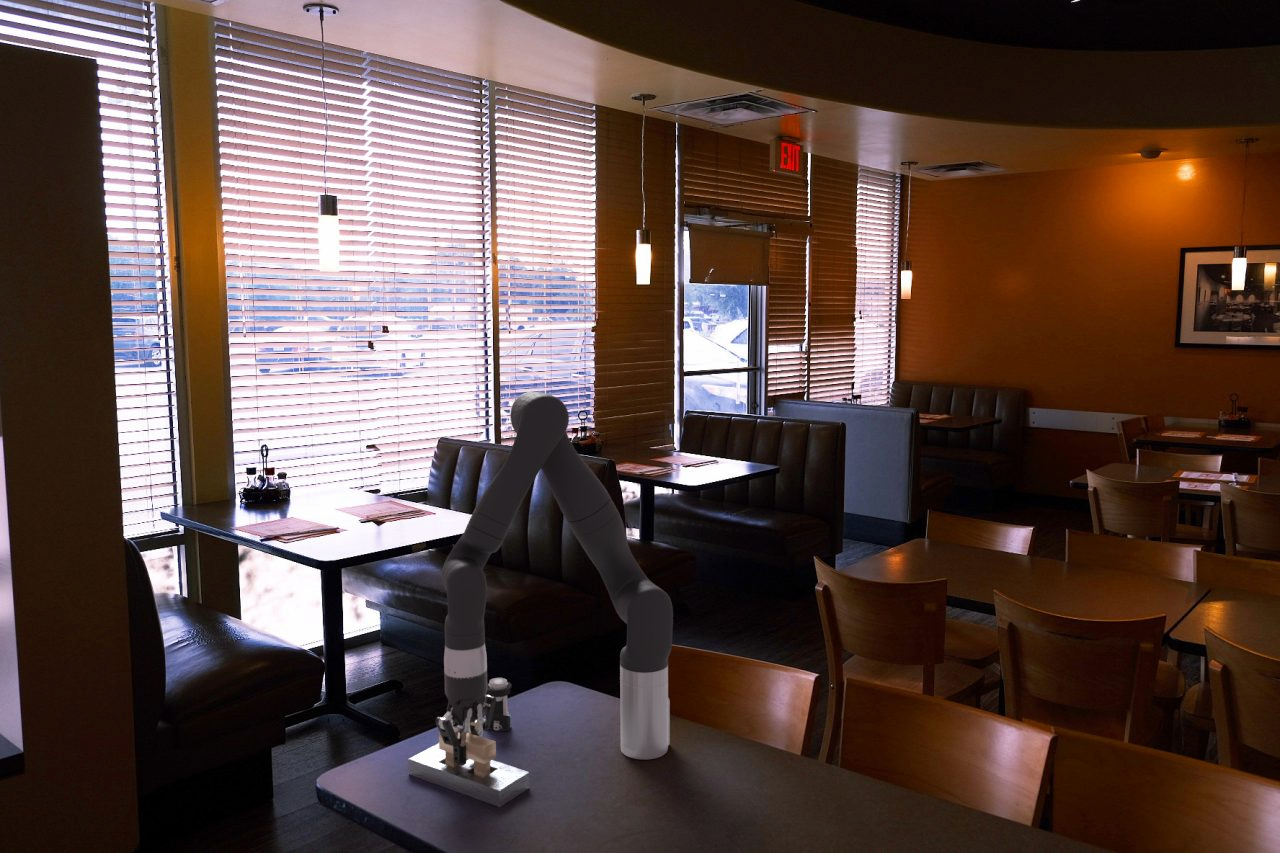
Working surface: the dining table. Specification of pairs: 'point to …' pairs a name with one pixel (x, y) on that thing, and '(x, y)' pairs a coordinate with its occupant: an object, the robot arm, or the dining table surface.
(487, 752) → the wooden peg block
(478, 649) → the robot arm
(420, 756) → the grey block with holes
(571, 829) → the dining table surface
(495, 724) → the push button
